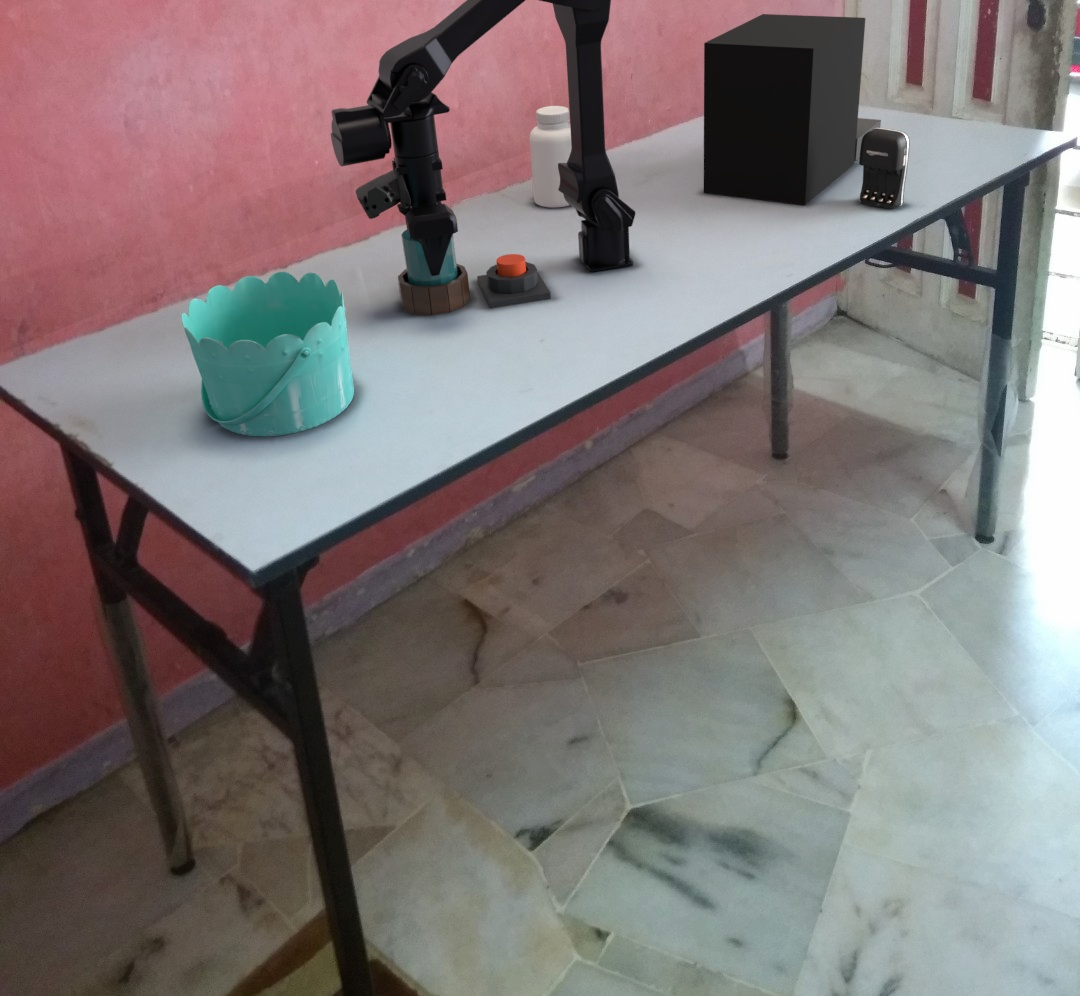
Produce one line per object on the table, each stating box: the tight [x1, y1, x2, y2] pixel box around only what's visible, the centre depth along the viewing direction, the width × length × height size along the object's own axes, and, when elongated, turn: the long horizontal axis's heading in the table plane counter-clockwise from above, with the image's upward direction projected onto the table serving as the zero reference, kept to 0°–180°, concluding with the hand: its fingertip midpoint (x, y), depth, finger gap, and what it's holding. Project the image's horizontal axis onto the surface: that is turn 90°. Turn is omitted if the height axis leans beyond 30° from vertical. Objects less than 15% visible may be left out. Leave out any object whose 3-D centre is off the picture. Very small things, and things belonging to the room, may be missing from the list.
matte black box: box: [702, 13, 882, 206], centre depth 191 cm, size 18×35×24 cm, turn 148°
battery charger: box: [858, 127, 911, 209], centre depth 176 cm, size 7×4×11 cm, turn 45°
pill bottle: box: [529, 105, 572, 208], centre depth 188 cm, size 8×8×15 cm
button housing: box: [476, 261, 552, 309], centre depth 160 cm, size 10×8×3 cm
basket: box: [180, 271, 355, 437], centre depth 133 cm, size 19×18×13 cm
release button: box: [495, 253, 526, 277], centre depth 159 cm, size 4×4×2 cm
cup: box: [400, 229, 458, 286], centre depth 157 cm, size 7×7×10 cm
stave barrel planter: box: [397, 263, 471, 316], centre depth 158 cm, size 9×9×4 cm
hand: (431, 265), depth 157 cm, fingers closed on cup, 7 cm apart
